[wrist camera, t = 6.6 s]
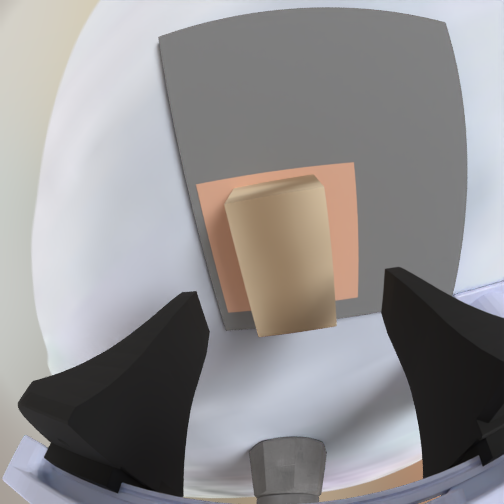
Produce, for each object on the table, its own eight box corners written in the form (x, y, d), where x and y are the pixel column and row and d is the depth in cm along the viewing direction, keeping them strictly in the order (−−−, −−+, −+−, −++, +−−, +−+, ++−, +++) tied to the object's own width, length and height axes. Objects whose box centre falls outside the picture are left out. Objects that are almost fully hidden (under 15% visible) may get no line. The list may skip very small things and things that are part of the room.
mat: (449, 293, 16) (452, 296, 16) (226, 326, 18) (225, 331, 18) (441, 23, 9) (445, 22, 8) (161, 38, 11) (157, 36, 10)
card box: (313, 174, 13) (324, 186, 10) (327, 293, 16) (336, 326, 13) (233, 188, 14) (224, 204, 11) (261, 303, 17) (258, 337, 14)
